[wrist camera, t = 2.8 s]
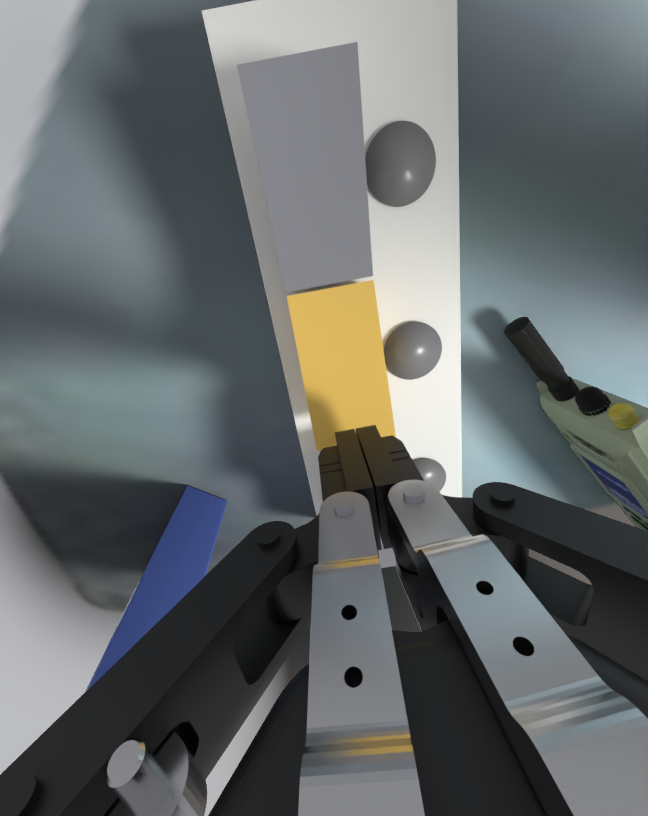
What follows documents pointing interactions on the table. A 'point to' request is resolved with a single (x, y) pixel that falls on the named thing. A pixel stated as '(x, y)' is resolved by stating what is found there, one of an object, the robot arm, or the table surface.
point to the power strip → (375, 200)
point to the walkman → (168, 571)
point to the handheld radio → (592, 424)
